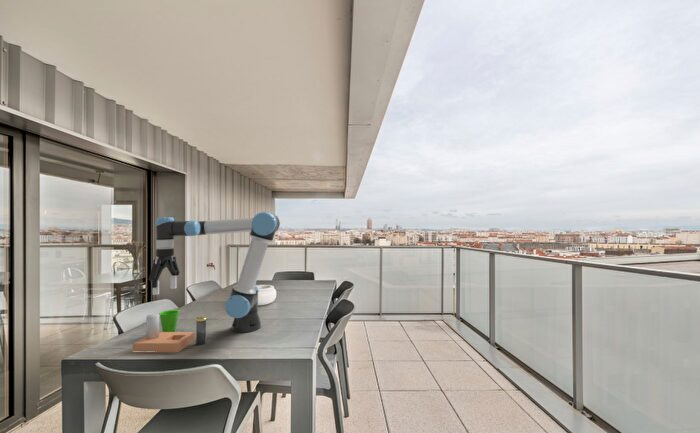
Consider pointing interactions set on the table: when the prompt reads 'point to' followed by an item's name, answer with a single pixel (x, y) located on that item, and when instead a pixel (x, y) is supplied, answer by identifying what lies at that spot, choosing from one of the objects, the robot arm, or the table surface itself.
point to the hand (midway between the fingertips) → (165, 291)
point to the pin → (201, 330)
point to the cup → (169, 320)
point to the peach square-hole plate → (162, 338)
